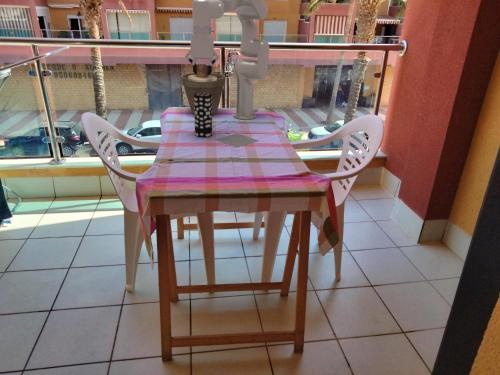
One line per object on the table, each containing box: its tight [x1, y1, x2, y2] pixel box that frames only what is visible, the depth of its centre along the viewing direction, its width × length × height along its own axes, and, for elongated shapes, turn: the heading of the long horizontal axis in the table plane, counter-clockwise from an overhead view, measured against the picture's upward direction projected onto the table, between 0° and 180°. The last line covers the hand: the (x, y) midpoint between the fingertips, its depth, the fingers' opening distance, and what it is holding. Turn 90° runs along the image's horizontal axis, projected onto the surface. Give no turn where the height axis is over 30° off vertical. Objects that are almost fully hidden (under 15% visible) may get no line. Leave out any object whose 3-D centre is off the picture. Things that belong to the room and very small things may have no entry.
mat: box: [214, 132, 260, 148], centre depth 174 cm, size 15×15×1 cm
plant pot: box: [180, 72, 226, 116], centre depth 214 cm, size 25×25×22 cm
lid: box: [188, 64, 217, 82], centre depth 167 cm, size 13×13×6 cm
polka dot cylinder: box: [193, 93, 213, 139], centre depth 175 cm, size 8×8×20 cm
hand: (202, 74), depth 167 cm, fingers closed on lid, 5 cm apart
